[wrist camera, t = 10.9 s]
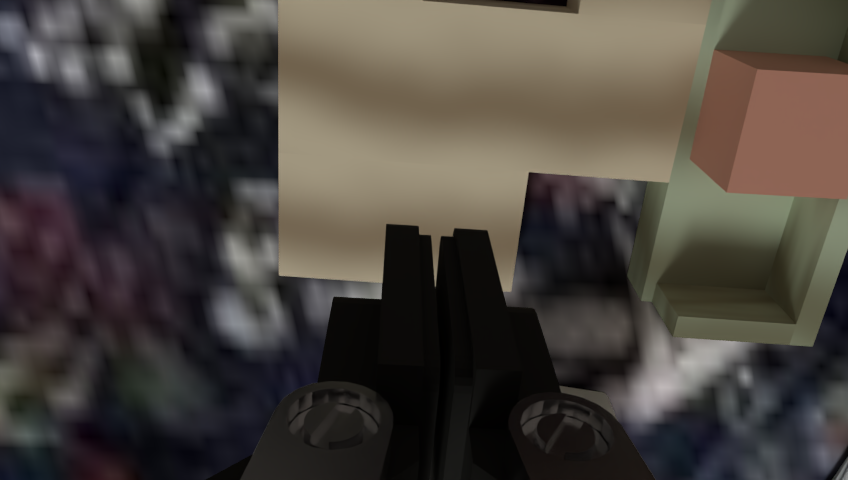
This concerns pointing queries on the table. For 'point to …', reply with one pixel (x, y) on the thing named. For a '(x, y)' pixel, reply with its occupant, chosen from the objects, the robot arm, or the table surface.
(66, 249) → the table surface
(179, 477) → the table surface
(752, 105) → the block
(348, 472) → the robot arm
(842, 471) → the white patterned board
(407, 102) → the trap deck
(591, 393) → the medicine bottle
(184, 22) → the table surface
